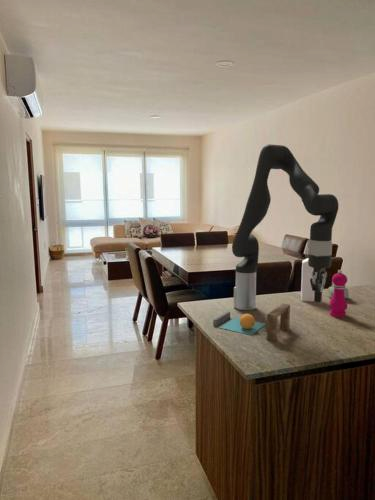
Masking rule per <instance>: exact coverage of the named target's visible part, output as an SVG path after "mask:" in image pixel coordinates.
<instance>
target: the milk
mask: <svg viewBox="0 0 375 500" xmlns="http://www.w3.org/2000/svg"><path fill="white" fill-rule="evenodd" d="M301 263H302V264H301V283H300V284H301V285H300V299H301V301H302V302H315V301H314V293H315V291H312V287H311V283H310V279H311V278H312V272H313V269H314V268H313V267H310V266H309V265H308V257H307V258H305V259H303V260H302V261H301ZM312 279H313V278H312Z"/></svg>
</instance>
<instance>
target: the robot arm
mask: <svg viewBox="0 0 375 500" xmlns="http://www.w3.org/2000/svg"><path fill="white" fill-rule="evenodd" d="M271 170H282V171H283V172H285V173H286V174H287V175H288V177H289V179H288V180H289V184H290V185H289V186H290V187H291V189H292V190H293V191H294V192H295V193H296V194H297V195H298V196H299V198H300V200H301V202H302V203H303V206H304V208H305V210H306V212H307V213H308V214H310V215H312V216H315V217H316V216H319V219H318V221H316V222H313V223H311V225H310V228H309V229H310V230H309V231H310V233H309V244H308V257H307V258H308V265H309V266H310V267H313V268H314V269H313V272H312V278H313V279H312V278H311V279H310V283H311V287H312V291H315V293H314V301H313V302H315V303H321V302H322V301H323V290H324V289H325V286H326V282H327V277H328V273H327V271H326V269H329V268H331V266H332V258H333V257H332V256H333V253H332V252H333V245H332V244H333V242H332V241H333V240H332V239H333V237H332V236H333V227H334V224H335V221H336V218H337V214H338V211H339V206H340V205H339V201H338V199H337V196H335V195H334V194H331V193H330V194H329V193H328V194H327V193H325V194H322V193H321V194H320V186H319V185H318V184H317V183H316V181H314V180H313V179H312V178H311V176H309V174H307V173H306V172H305V170H304V169H303V168H302V166H301V165H300V163H299V162H298V160H297V159H296V158H295V156H294V154H293V153H292V152H291V150H290V149H289V148H288V147H287V146H285V145H283V144H282V145H281V144H280V145H279V144H265V145H264V146H263V147H262V148H261V151H260V153H259V156H258V160H257V165H256V170H255V175H254V179H253V183H252V185H251V189H250V192H249V195H248V198H247V202H246V205H245V207H244V212H243V214H242V218H241V221H240V224H239V226H238V229H237V231H236V233H235V236H234V239H233V241H232V244H231V245H232V246H231V251H232V254H233V256H235V258H236V257H237V258H243V259H242V261H240V262H238V263H237V264H236V265H235V286H234V287H233V308H236V309H237V310H239V311H253V310H255V309H256V305H257V303H256V300H257V298H256V297H257V267H258V265H259V252H260V246H259V240H258V238H257V237H256V236H254V235H251V234H252V232H253V231H254V230H255V228H256V227H257V226H258V225H260V223H261V222H262V221H263V220H264V219H265V217H266V215H267V213H268V210H269V207H270V205H271V200H272V199H271V198H272V197H271V194H270V189H269V186H268V180H269V175H270V172H271Z"/></svg>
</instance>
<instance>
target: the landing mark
mask: <svg viewBox="0 0 375 500" xmlns="http://www.w3.org/2000/svg"><path fill="white" fill-rule="evenodd" d="M240 318H241V317H234V318H232V319H231V320H228V321H227V322H226V323H223V324H221V326H222V327H221V326H219V327H220V328H219V329H221V328H223V329H222V330H226V329H227V331H230V332H234V333H240V334H244V335H248V336H252V335H254V334H255V333H257V332H258V331H259V330H261V329H262V328H263V327H264V326H267V323H265V322H260V321H255V325H254V326H253V327H252V328H251V329H244V328H242V327H241V325H240Z"/></svg>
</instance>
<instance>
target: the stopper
mask: <svg viewBox="0 0 375 500" xmlns="http://www.w3.org/2000/svg"><path fill="white" fill-rule="evenodd" d="M230 318H231V312H230V311H227V312H225V313H223V314H221V315H219V316H217V317H215V318H214V319H213V320H212V321H213V322H212V323H213V325H215V326H214V327H217V326H219V325H221V324H222V323H224V322H226V321H227V320H228V319H230ZM225 320H226V321H225ZM223 321H224V322H223ZM220 323H221V324H220ZM218 324H219V325H218ZM216 325H217V326H216Z"/></svg>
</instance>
